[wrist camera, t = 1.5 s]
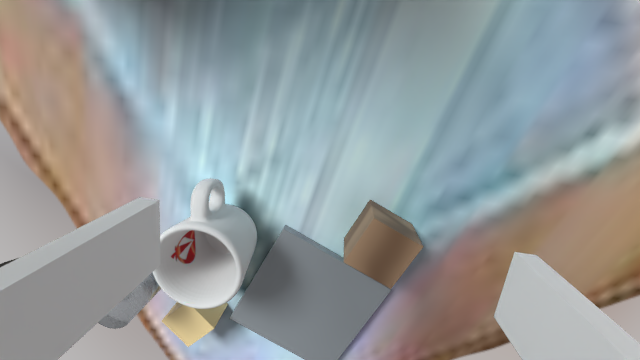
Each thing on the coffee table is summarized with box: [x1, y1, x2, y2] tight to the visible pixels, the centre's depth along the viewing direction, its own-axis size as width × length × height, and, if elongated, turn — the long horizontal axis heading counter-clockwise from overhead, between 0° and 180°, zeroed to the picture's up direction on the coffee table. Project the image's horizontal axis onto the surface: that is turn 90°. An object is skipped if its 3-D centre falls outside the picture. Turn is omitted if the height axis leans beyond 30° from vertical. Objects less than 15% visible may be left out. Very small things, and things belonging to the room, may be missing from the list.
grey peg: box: [98, 272, 161, 328], centre depth 31 cm, size 4×4×9 cm
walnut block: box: [344, 200, 423, 289], centre depth 30 cm, size 5×5×5 cm
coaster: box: [229, 225, 391, 360], centre depth 35 cm, size 13×13×1 cm
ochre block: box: [162, 302, 228, 347], centre depth 35 cm, size 4×4×4 cm
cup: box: [153, 179, 257, 309], centre depth 30 cm, size 11×8×8 cm
